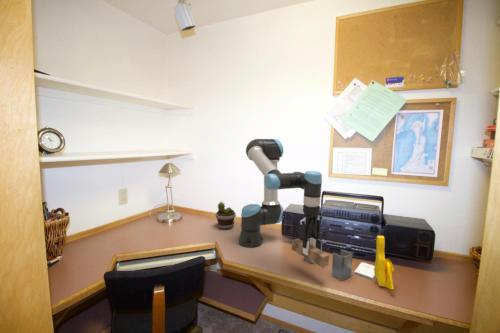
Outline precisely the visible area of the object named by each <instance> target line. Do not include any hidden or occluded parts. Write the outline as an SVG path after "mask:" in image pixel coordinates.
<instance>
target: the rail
mask: <svg viewBox="0 0 500 333" xmlns="http://www.w3.org/2000/svg"><path fill="white" fill-rule="evenodd" d="M291 250H292V251H293V252H295V253H297V254H299V255H301V256H302V257H305V258H307V259H309V260H310V261H312V262H314V264H315V265H317V266H318V267H321V268H322V269H323V268H325V267H327V266H329V262H330V261H329V260H330V259H329V258H330V254H329V253H327V252H325V251H323V250H322V251H321V250H319V249H318V248H316V247H314V246H312V245H310V244H309V250H308V255H305V254H304V253H303V241H301V240H300V239H299V238H295V239H292V242H291Z"/></svg>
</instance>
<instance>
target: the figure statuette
mask: <svg viewBox="0 0 500 333" xmlns="http://www.w3.org/2000/svg"><path fill="white" fill-rule="evenodd" d="M385 243H386V240H385V236H384V235H377V236H376V252H375V262H374V266H375V267H374V274H375V277H374V278H375V280H376V282H377V284H378V286H379V287H384V288H387V289H389V290H395V287H394V282H393V281H394V280H393V273H394V271H395V267H394V264H393V263H392V261H391V260H390V258H389V257H388V258H386V255H385V254H386V253H385V248H386V244H385Z"/></svg>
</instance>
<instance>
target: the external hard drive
mask: <svg viewBox="0 0 500 333" xmlns="http://www.w3.org/2000/svg"><path fill="white" fill-rule="evenodd" d="M374 267H375V265H373V264H370V263H367V262H364V261H363V262H362V261H361V262H360V263H359V265H358V266H357V267H356V269H355V270H354V272H353V274H354V275H357V276H360V277H363V278H365V279H368V280H370V281H373V280H374V278H376V277H375V274H374Z"/></svg>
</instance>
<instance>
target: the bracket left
mask: <svg viewBox="0 0 500 333" xmlns="http://www.w3.org/2000/svg"><path fill="white" fill-rule="evenodd" d="M310 238H311V237H310ZM310 238H309V237H308V242H309V244H310ZM315 247H316V248H318V249H319V250H321V251H323V240H321V239H319V238H318V239H316V245H315ZM303 257H304V256H303ZM303 260H304V261H306V262H307V263H309V264H312V265H313V264H315V263H314V262H312V261H310V260H309V259H307V258H305V257H304V258H303Z"/></svg>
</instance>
